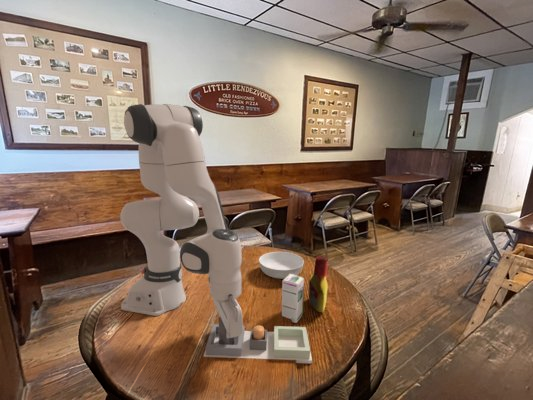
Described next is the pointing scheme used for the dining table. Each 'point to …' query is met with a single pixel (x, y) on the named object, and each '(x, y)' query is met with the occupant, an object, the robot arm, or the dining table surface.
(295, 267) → the serving bowl
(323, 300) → the bottle
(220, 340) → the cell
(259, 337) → the brown egg
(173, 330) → the dining table surface
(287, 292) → the syrup box
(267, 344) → the grey compartment tray
